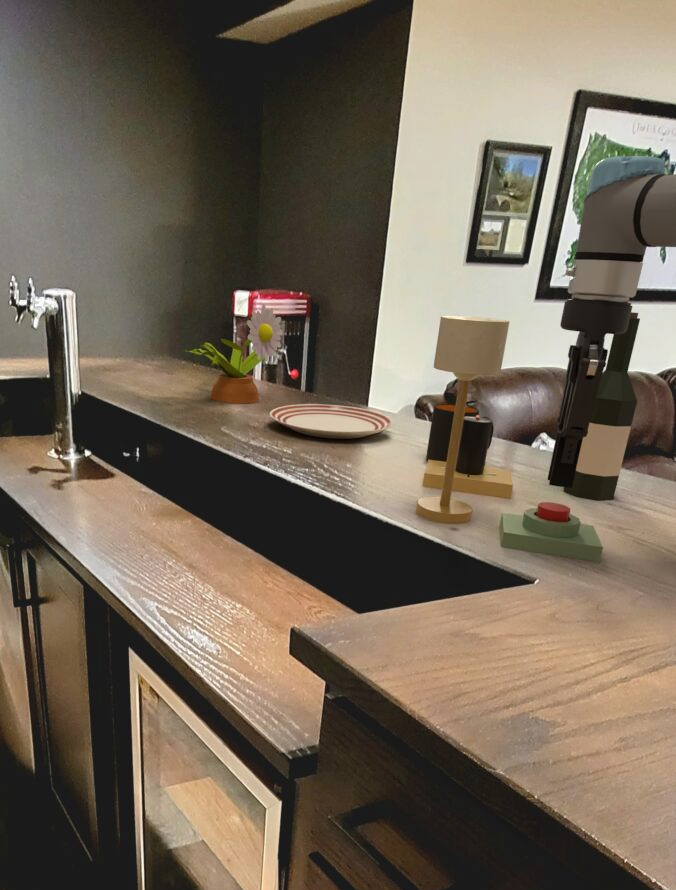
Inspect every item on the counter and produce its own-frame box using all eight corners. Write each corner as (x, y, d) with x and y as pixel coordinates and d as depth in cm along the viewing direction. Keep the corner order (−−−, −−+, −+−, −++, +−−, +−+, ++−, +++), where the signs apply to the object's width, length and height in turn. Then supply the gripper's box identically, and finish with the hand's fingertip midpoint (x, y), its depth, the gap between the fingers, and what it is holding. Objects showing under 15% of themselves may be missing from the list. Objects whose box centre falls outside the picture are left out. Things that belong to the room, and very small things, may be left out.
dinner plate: (365, 451, 144) (367, 434, 143) (246, 429, 157) (247, 414, 156) (408, 430, 166) (410, 415, 165) (301, 412, 179) (302, 399, 178)
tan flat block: (508, 483, 127) (511, 469, 126) (510, 499, 118) (513, 483, 117) (426, 472, 131) (428, 458, 130) (422, 487, 122) (424, 472, 121)
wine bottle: (553, 490, 124) (592, 310, 114) (574, 483, 129) (613, 310, 120) (603, 503, 118) (648, 314, 108) (622, 495, 124) (667, 314, 114)
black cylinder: (483, 476, 120) (493, 421, 117) (453, 472, 122) (462, 418, 119) (483, 469, 125) (492, 416, 122) (454, 466, 126) (463, 413, 123)
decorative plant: (233, 410, 177) (240, 304, 169) (167, 394, 192) (169, 297, 184) (300, 400, 196) (309, 304, 188) (234, 387, 211) (240, 298, 203)
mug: (495, 468, 136) (505, 414, 133) (433, 465, 136) (442, 411, 132) (479, 457, 144) (488, 406, 141) (420, 454, 144) (428, 403, 140)
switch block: (589, 540, 101) (596, 513, 100) (599, 563, 93) (606, 534, 91) (499, 526, 104) (504, 500, 103) (500, 547, 96) (506, 519, 95)
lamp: (474, 511, 111) (508, 319, 101) (473, 529, 103) (510, 322, 93) (414, 502, 113) (442, 314, 104) (409, 519, 105) (439, 317, 96)
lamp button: (566, 516, 99) (568, 504, 98) (569, 525, 95) (572, 513, 94) (534, 512, 100) (537, 500, 99) (536, 521, 96) (539, 508, 96)
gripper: (560, 295, 96) (526, 466, 104) (572, 297, 82) (532, 494, 90) (622, 299, 94) (583, 473, 101) (646, 302, 80) (598, 503, 88)
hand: (559, 483), depth 96 cm, fingers closed
